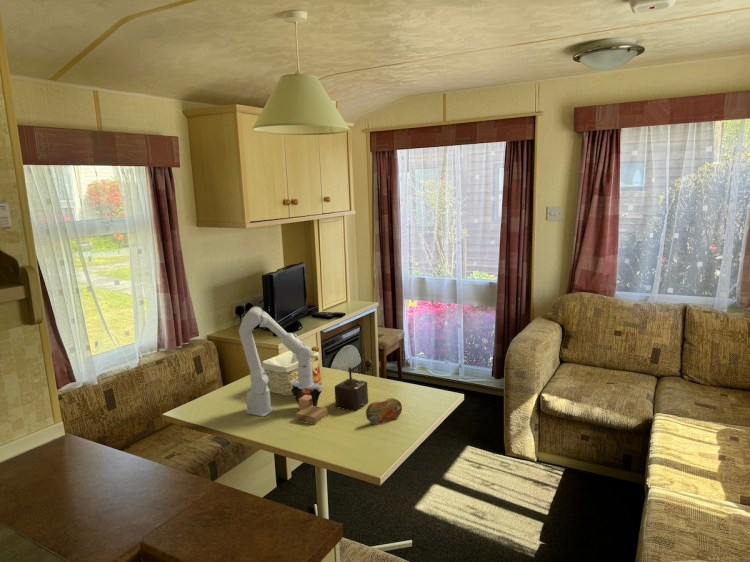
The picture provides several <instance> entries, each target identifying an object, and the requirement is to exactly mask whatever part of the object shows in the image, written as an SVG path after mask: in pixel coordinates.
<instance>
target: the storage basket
mask: <svg viewBox="0 0 750 562" xmlns="http://www.w3.org/2000/svg"><path fill="white" fill-rule="evenodd" d="M311 355H316V356H319V357H318V361H319V362H320V353H319V352H318V351H315V350H311ZM261 366H262V368H263V369H264V371H265V373H266V374H267V376H268V377H269V382H268V384H267V386H268V388H269V391H270V393H275V394H279V395H281V396H282V395H283V396H286V397H288V396H289V397H290V396H292V395H294V394H293V393H292V391H291V389H293V387H291V385H290V383H291V382H293V381H294V382H298V381H299V375H298V359H297V358H296V354H294V353H293V352H291V351H290V350H288V351H285V352H283V353H281V354H278V355H276V356H273V357H270V358H268V359H265V360H263V361H262V362H261Z"/></svg>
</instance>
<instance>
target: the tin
mask: <svg viewBox="0 0 750 562" xmlns="http://www.w3.org/2000/svg"><path fill="white" fill-rule="evenodd" d="M402 409H403V406H402V403H401V402H400V401H399V400H398V399H396V398H393V397H389V398H385V399H382V400H377V401H374V402H371V403H370V404H368V406H367V407H366V410H365V418H366V419H367V421H369V422H370V423H371V424H372V425H375V424H377V425H380V424H379V423H381V424H384V423H388V422H391V421H394V419H395V420H396V419H398V418H399V417H400V415H401V413H402V412H403V411H402ZM387 421H388V422H387ZM383 422H384V423H383Z"/></svg>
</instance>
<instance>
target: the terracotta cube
mask: <svg viewBox="0 0 750 562" xmlns="http://www.w3.org/2000/svg"><path fill="white" fill-rule="evenodd" d="M308 405H311V406H313V402H312V396H310V395H304V396H303V397H301V398H299V405H298V409H299V411H300V410H302V409H303V408H305V407H307V406H308Z"/></svg>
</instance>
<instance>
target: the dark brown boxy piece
mask: <svg viewBox="0 0 750 562" xmlns="http://www.w3.org/2000/svg"><path fill="white" fill-rule="evenodd" d="M373 364H374V362H373V360H372V359H365V360H364V361H363V365H364V369H356V370H355V369H354V370H352V367H349V366H348V376H349V378H347V379H345V380H343V381H342V382H340V383H338V384H336V385H334V401H335V408H338V407H340V408H339V409H342V408H344V409H343V410H346V409H348V410H347V411H351V410H353V411H352V412H356V411H358V410H361V409H362V408H363V407H365V406H366V405H368V403H369V394H368V393H369V392H368V391H369V389H368V381H365V380H364V381H363V380H359V379H358V380H357V379H356V378H353V376H352V374H355V373H365V372H366V373H368V372H369V371H372V369H371V368H372V366H373ZM365 404H366V405H365ZM364 405H365V406H364ZM361 407H362V408H361Z"/></svg>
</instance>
